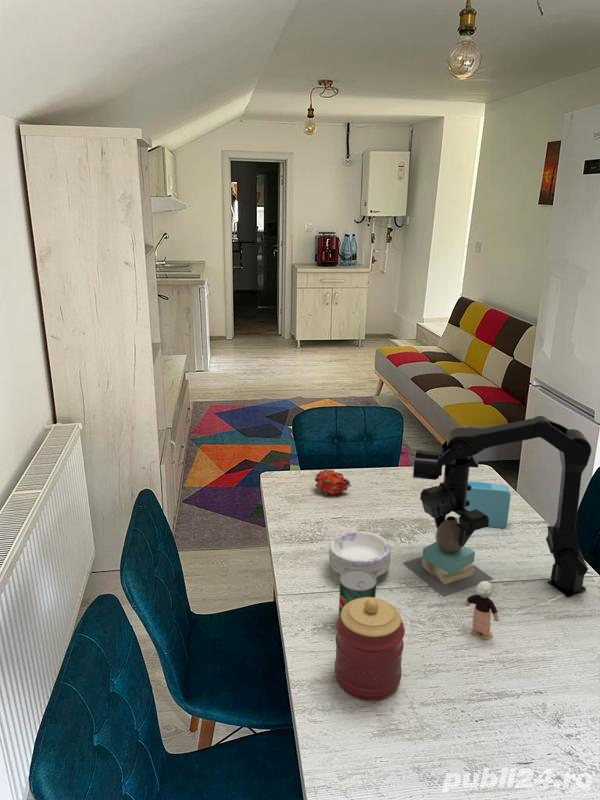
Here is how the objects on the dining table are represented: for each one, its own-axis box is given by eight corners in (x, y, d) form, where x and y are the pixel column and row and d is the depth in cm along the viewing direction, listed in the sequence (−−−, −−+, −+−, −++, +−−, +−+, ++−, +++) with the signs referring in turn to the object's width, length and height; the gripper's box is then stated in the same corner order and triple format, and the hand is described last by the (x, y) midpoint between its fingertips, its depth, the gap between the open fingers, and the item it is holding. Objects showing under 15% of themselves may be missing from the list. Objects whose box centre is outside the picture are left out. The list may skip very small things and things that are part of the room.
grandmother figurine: (499, 633, 131) (506, 583, 127) (494, 644, 128) (501, 592, 124) (464, 621, 135) (469, 572, 131) (459, 631, 132) (464, 581, 128)
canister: (358, 644, 127) (362, 572, 122) (413, 674, 120) (419, 597, 114) (320, 680, 118) (323, 602, 112) (377, 714, 110) (382, 632, 105)
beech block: (473, 575, 151) (474, 564, 150) (444, 584, 147) (446, 574, 146) (448, 557, 159) (449, 547, 158) (421, 566, 155) (422, 556, 154)
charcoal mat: (493, 580, 150) (493, 579, 150) (443, 598, 143) (443, 596, 143) (450, 549, 164) (450, 548, 163) (402, 564, 156) (402, 562, 156)
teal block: (473, 562, 152) (475, 551, 151) (451, 574, 146) (452, 564, 145) (444, 547, 158) (445, 536, 157) (422, 558, 153) (423, 548, 152)
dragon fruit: (312, 493, 199) (347, 503, 196) (308, 488, 191) (345, 498, 188) (319, 468, 201) (354, 478, 198) (316, 462, 193) (352, 473, 190)
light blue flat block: (504, 521, 179) (509, 484, 175) (506, 529, 175) (511, 491, 171) (462, 517, 181) (466, 480, 178) (463, 524, 177) (467, 487, 173)
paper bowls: (345, 550, 163) (346, 523, 160) (398, 567, 155) (400, 539, 153) (317, 578, 150) (318, 550, 148) (373, 598, 143) (375, 568, 140)
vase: (434, 554, 149) (436, 523, 146) (436, 540, 155) (438, 510, 153) (462, 559, 147) (465, 527, 145) (464, 544, 154) (466, 513, 151)
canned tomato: (332, 615, 137) (334, 572, 133) (364, 607, 139) (366, 566, 136) (347, 637, 130) (349, 593, 126) (380, 629, 132) (383, 585, 129)
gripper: (405, 472, 150) (401, 528, 155) (456, 503, 134) (450, 565, 139) (440, 464, 155) (435, 519, 160) (493, 493, 139) (486, 553, 144)
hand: (450, 538), depth 150 cm, fingers open, 8 cm apart
